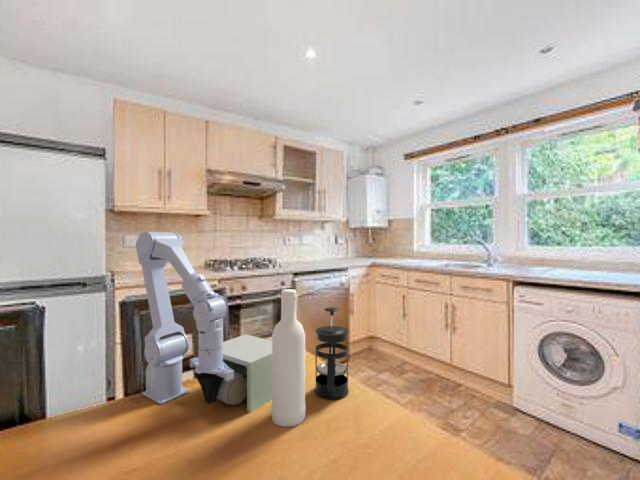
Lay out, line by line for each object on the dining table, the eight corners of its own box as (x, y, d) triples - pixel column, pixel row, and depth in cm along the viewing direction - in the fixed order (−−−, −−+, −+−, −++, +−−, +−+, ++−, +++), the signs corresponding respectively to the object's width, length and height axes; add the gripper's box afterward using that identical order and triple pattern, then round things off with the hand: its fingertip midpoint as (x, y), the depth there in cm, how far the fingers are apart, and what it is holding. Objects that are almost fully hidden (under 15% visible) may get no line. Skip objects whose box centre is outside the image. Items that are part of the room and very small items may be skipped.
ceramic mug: (227, 412, 75) (228, 380, 75) (208, 401, 80) (208, 371, 80) (260, 395, 84) (261, 366, 84) (240, 386, 88) (241, 359, 89)
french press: (316, 381, 91) (316, 303, 91) (348, 382, 91) (348, 304, 91) (312, 402, 80) (312, 313, 80) (349, 404, 79) (349, 314, 79)
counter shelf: (204, 391, 85) (204, 348, 85) (245, 372, 98) (245, 334, 98) (250, 412, 75) (250, 362, 75) (290, 387, 88) (290, 345, 88)
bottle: (268, 427, 69) (269, 293, 69) (274, 408, 77) (274, 287, 77) (304, 427, 69) (304, 293, 69) (306, 408, 77) (306, 287, 77)
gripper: (178, 345, 77) (178, 400, 77) (216, 358, 69) (216, 419, 69) (203, 338, 83) (203, 388, 83) (240, 348, 75) (240, 405, 75)
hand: (210, 401), depth 76 cm, fingers closed, pressing on ceramic mug
